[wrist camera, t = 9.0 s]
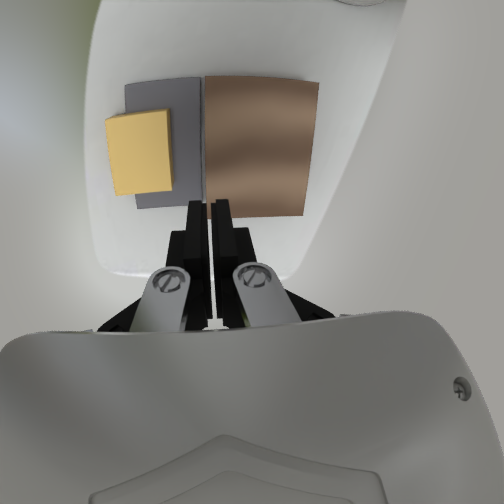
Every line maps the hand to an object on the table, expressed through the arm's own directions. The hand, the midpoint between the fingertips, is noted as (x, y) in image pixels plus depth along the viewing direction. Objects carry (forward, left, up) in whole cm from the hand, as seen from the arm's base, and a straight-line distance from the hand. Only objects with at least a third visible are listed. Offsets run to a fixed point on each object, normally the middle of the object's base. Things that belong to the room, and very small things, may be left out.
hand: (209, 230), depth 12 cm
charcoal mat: (0, -4, -18) cm, 18 cm away
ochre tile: (0, -7, -15) cm, 16 cm away
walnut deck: (0, +5, -18) cm, 19 cm away
